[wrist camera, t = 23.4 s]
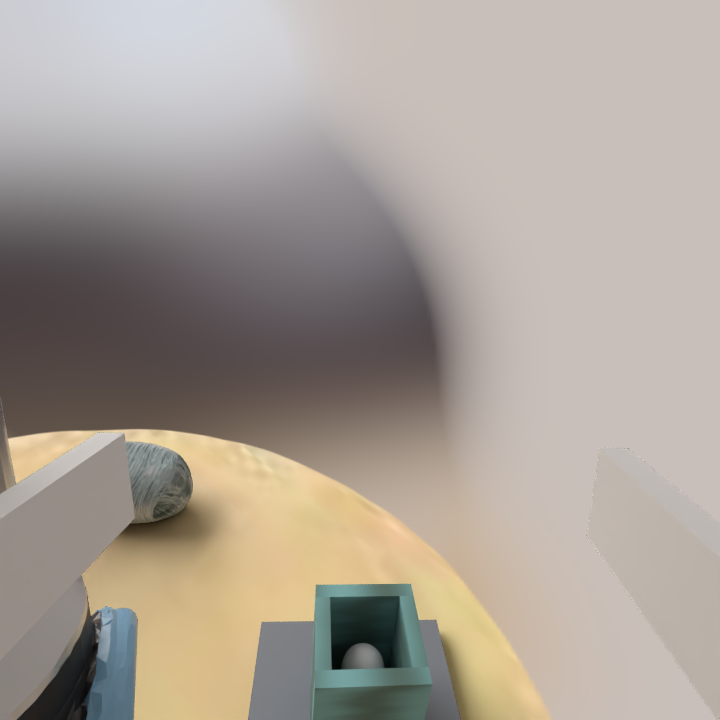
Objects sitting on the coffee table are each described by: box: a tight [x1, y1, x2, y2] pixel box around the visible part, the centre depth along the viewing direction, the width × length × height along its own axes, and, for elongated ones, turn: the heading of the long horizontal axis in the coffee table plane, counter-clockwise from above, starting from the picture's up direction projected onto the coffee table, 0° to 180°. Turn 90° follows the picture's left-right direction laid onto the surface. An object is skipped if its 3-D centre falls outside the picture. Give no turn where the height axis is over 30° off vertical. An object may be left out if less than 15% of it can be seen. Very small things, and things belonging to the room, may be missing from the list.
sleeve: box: [310, 584, 432, 720], centre depth 31 cm, size 7×7×10 cm
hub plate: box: [248, 620, 461, 720], centre depth 32 cm, size 16×16×9 cm
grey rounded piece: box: [125, 442, 193, 523], centre depth 52 cm, size 14×10×10 cm
